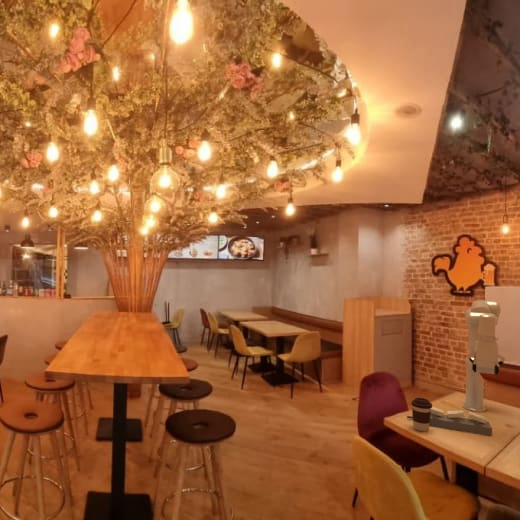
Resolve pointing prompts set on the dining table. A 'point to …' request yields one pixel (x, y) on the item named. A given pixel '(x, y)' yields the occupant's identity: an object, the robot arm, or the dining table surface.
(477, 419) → the rocker
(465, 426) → the power strip
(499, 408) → the dining table surface
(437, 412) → the rocker
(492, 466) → the dining table surface
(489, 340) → the robot arm
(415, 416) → the coffee cup
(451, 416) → the rocker middle
